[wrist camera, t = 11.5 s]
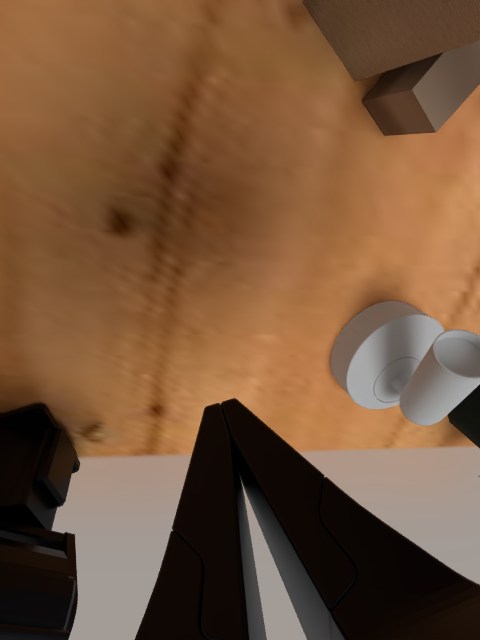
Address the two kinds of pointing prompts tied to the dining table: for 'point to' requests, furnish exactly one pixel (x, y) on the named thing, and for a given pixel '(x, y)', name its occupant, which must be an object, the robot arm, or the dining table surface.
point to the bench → (424, 91)
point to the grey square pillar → (394, 30)
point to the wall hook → (405, 362)
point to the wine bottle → (468, 416)
